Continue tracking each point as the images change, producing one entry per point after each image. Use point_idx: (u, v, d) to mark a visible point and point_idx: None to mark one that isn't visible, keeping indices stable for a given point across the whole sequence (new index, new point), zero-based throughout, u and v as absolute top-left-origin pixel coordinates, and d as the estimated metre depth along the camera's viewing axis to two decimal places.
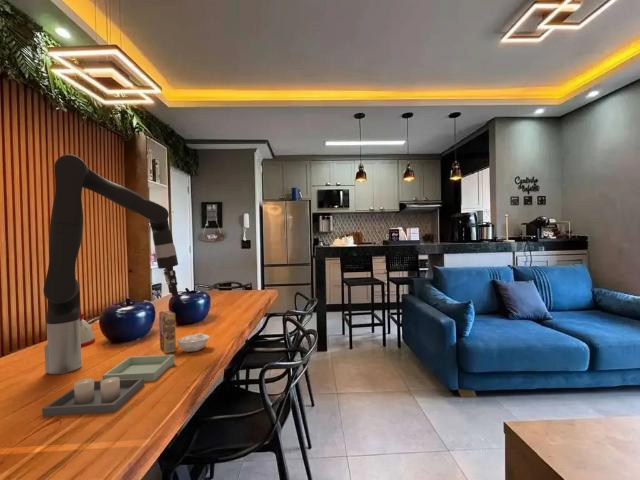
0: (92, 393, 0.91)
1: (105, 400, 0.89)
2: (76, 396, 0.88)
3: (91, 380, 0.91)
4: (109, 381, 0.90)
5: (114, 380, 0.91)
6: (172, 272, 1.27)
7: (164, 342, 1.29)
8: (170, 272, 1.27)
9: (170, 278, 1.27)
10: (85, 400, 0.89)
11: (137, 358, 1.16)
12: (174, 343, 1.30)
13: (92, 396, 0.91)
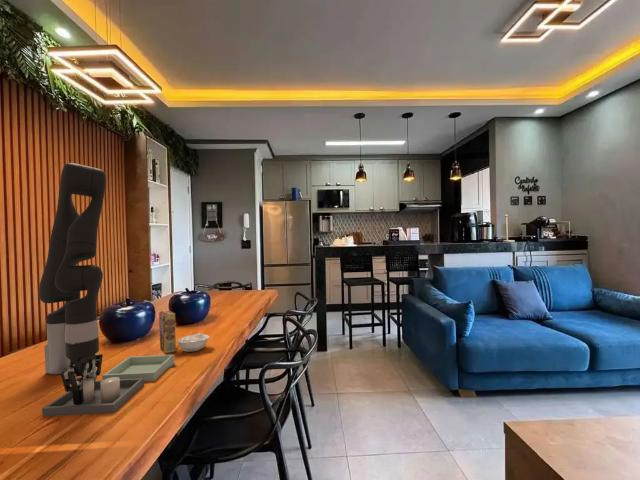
0: (92, 393, 0.91)
1: (105, 400, 0.89)
2: None
3: (91, 380, 0.91)
4: (109, 381, 0.90)
5: (114, 380, 0.91)
6: (67, 375, 0.84)
7: (164, 342, 1.29)
8: (64, 375, 0.84)
9: (64, 383, 0.84)
10: (85, 400, 0.89)
11: (137, 358, 1.16)
12: (174, 343, 1.30)
13: (92, 396, 0.91)
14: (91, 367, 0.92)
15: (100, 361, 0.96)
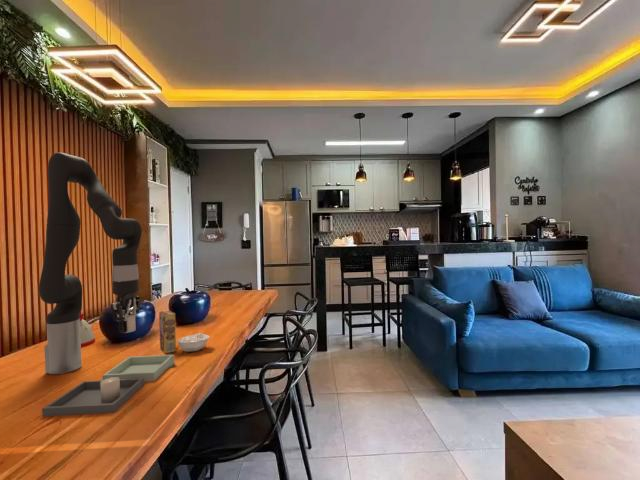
0: (134, 325, 1.08)
1: (105, 400, 0.89)
2: None
3: (133, 315, 1.09)
4: (109, 381, 0.90)
5: (114, 380, 0.91)
6: (115, 306, 1.01)
7: (164, 342, 1.29)
8: (113, 306, 1.01)
9: (113, 312, 1.02)
10: (129, 330, 1.06)
11: (137, 358, 1.16)
12: (174, 343, 1.30)
13: (134, 328, 1.08)
14: (132, 304, 1.09)
15: (139, 301, 1.14)
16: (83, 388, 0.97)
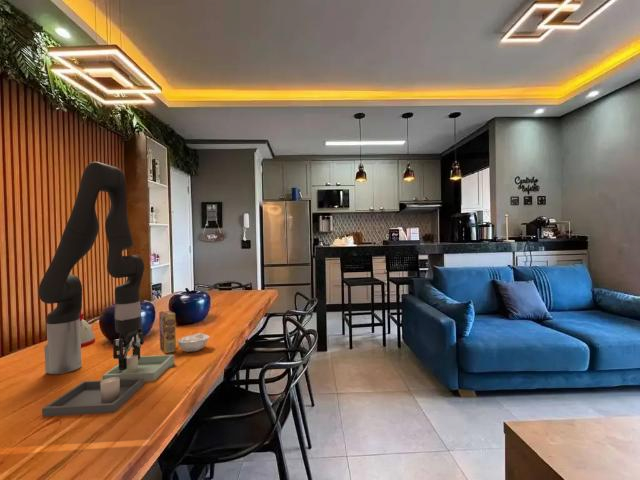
0: (137, 366, 1.09)
1: (105, 400, 0.89)
2: None
3: (135, 356, 1.10)
4: (109, 382, 0.90)
5: (114, 380, 0.91)
6: (118, 342, 1.02)
7: (164, 342, 1.29)
8: (116, 341, 1.02)
9: (114, 349, 1.02)
10: (132, 372, 1.07)
11: None
12: (174, 343, 1.30)
13: (137, 369, 1.09)
14: (136, 340, 1.10)
15: (141, 333, 1.15)
16: (83, 388, 0.97)
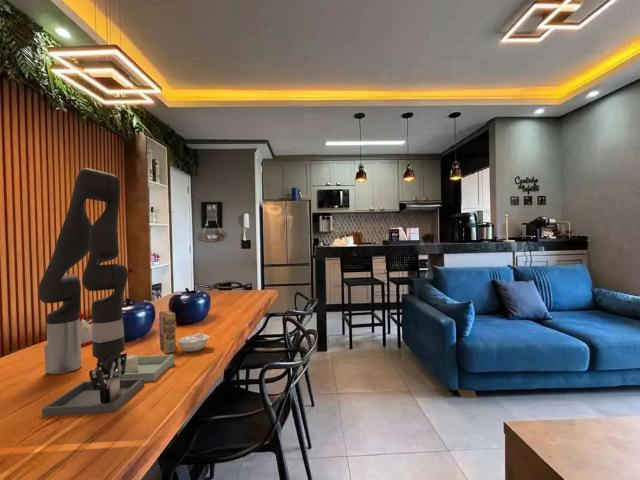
0: (137, 366, 1.09)
1: None
2: None
3: (136, 356, 1.09)
4: None
5: (114, 380, 0.91)
6: (95, 374, 0.84)
7: (164, 342, 1.29)
8: (92, 374, 0.84)
9: (92, 381, 0.85)
10: (132, 372, 1.07)
11: None
12: (174, 343, 1.30)
13: (137, 369, 1.09)
14: (117, 366, 0.92)
15: (124, 360, 0.96)
16: (83, 388, 0.97)
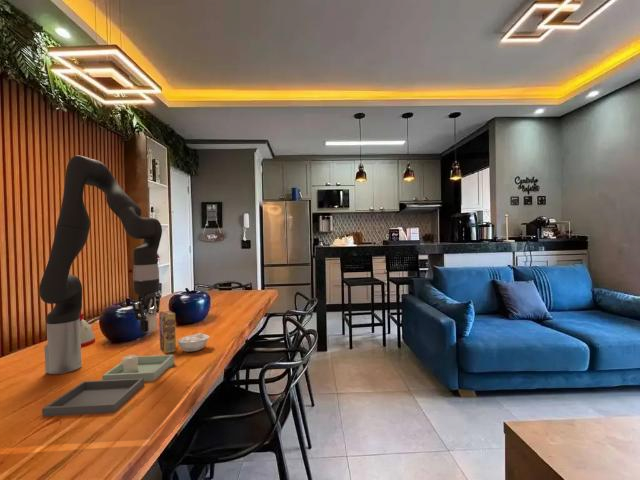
0: (137, 366, 1.09)
1: None
2: (124, 368, 1.07)
3: (135, 356, 1.09)
4: None
5: (151, 315, 1.08)
6: (137, 306, 1.01)
7: (164, 342, 1.29)
8: (135, 305, 1.01)
9: (135, 312, 1.02)
10: (132, 372, 1.07)
11: None
12: (174, 343, 1.30)
13: (137, 369, 1.09)
14: (153, 304, 1.09)
15: (158, 301, 1.14)
16: (83, 388, 0.97)
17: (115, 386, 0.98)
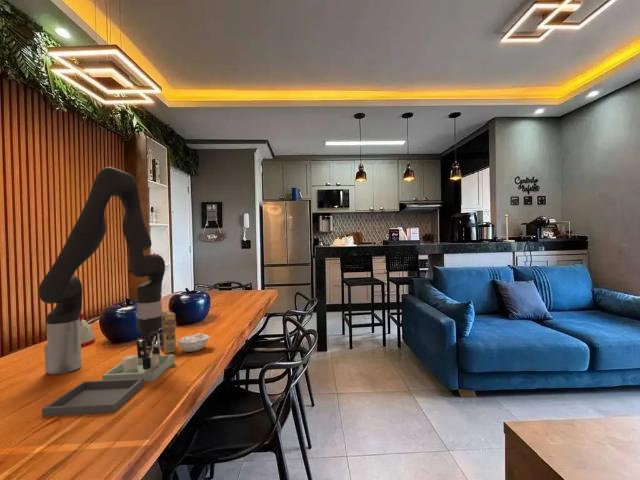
0: (137, 366, 1.09)
1: None
2: (124, 368, 1.07)
3: (136, 356, 1.09)
4: (151, 357, 1.08)
5: (155, 356, 1.09)
6: (141, 343, 1.02)
7: (164, 342, 1.29)
8: (139, 343, 1.02)
9: (138, 349, 1.02)
10: (132, 372, 1.07)
11: None
12: (174, 343, 1.30)
13: (137, 369, 1.09)
14: (156, 339, 1.10)
15: (162, 334, 1.15)
16: (83, 388, 0.97)
17: (115, 386, 0.98)
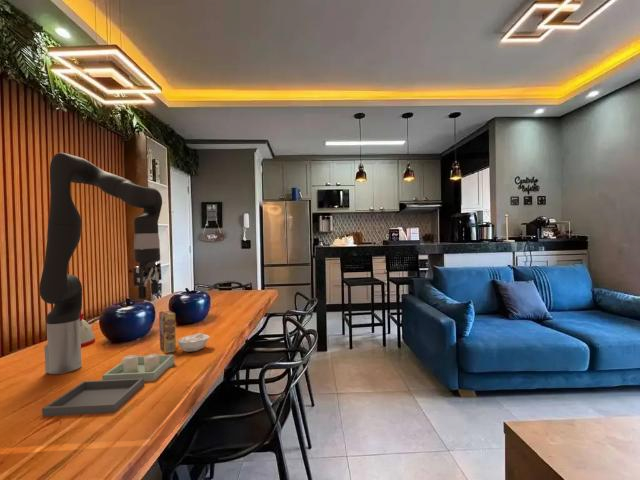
0: (137, 366, 1.09)
1: None
2: (124, 368, 1.07)
3: (136, 356, 1.09)
4: (151, 357, 1.08)
5: (155, 356, 1.09)
6: (138, 269, 1.02)
7: (164, 342, 1.29)
8: (136, 268, 1.02)
9: (135, 276, 1.02)
10: (131, 372, 1.07)
11: None
12: (174, 343, 1.30)
13: (137, 369, 1.09)
14: (154, 273, 1.10)
15: (159, 269, 1.15)
16: (83, 388, 0.97)
17: (115, 386, 0.98)
